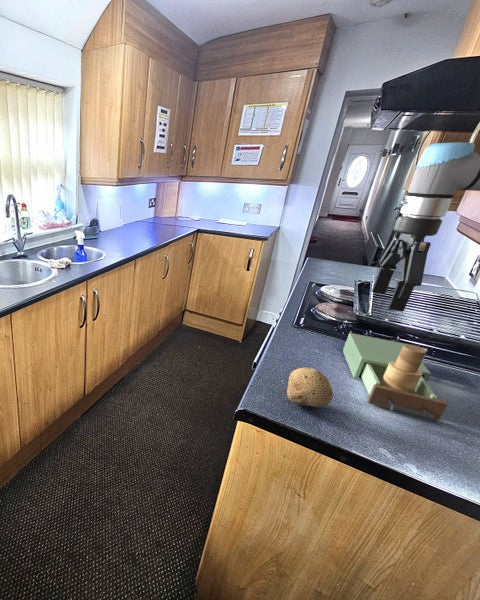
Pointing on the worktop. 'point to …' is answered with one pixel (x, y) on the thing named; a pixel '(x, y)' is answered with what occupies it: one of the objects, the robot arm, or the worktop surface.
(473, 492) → the worktop surface
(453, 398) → the worktop surface
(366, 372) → the drawer
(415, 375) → the stepped wooden peg
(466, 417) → the worktop surface
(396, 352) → the cabinet
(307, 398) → the natural sponge
